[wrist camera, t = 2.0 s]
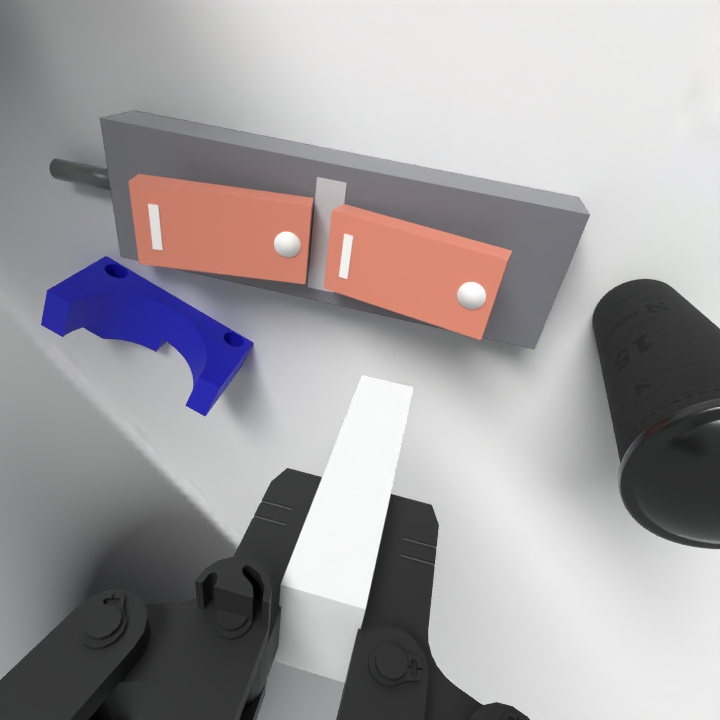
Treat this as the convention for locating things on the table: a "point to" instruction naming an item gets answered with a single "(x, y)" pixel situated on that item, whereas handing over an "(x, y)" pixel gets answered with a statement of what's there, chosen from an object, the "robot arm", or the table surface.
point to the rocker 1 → (221, 228)
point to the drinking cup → (663, 408)
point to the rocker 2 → (414, 269)
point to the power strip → (355, 188)
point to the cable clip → (147, 324)
